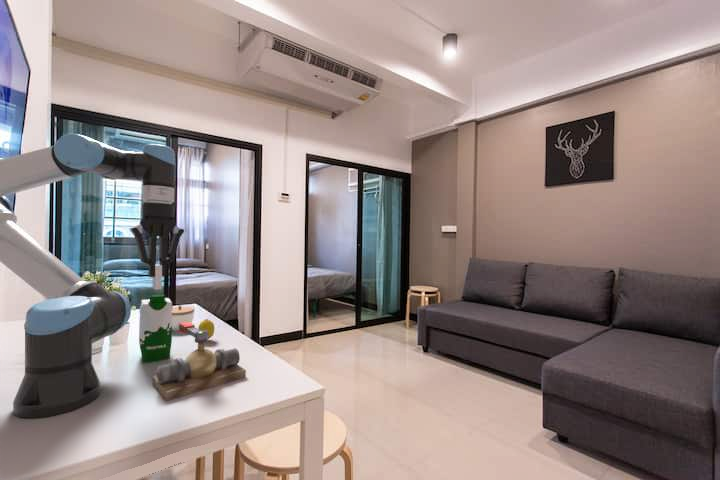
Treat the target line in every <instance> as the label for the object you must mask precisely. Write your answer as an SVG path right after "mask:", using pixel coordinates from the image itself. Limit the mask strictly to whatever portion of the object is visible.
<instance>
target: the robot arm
mask: <svg viewBox="0 0 720 480" xmlns="http://www.w3.org/2000/svg"><path fill="white" fill-rule="evenodd" d="M142 148H143V149H142V151H138V152H135V151H124V150H120V149H117V148H115V147H113V146H110V145H107V144H105V143H103V142H100V141H97V140H96V139H93V138H92V137H89V136H86V135H81V134H77V133H67V134H64V135H61V137H59V138H58V139H57V140H56V141H55V142H54V145H52V146H48V147H45V148H40V149H35V150H32V151H29V152H25V153H21V154H18V155H13V156H9V157H6V158H5V157H4V158H3V159H0V263H1V264H2V265H4V266H5V267H6V268H7V269H8V270H10V271H11V272H12V273H13V274H15V275H16V276H18V277H19V278H20V279H21V280H22V281H24V282H25V283H26V284H28V285H29V286H30V287H31V288H32V289H34V291H36V292H37V293H38V294H40V295H41V296H42V297H43V298H45V299H46V300H42V301H39V302H38V303H35V304H33V305H32V306H30V307H29V308H28V309H27V311H26V314H25V322H24V325H23V326H24V327H23V328H24V345H25V346H24V376H23V378H22V380H21V383H20V385H19V388H18V390H17V392H16V395H15V397H14V400H13V404H12V410H13V411H12V413H13V415H14V414H15V415H14V416H16V417H19V418H23V419H24V418H25V419H37V418H45V417H46V418H47V417H52V416H56V415H61V414H63V413H68V412H71V411H73V410H76V409H79V408H81V407H84V406H86V405H88V404H89V403H92V402H93V401H94V400H96V399H97V398H98V397H99V396H100V394H101V381H100V379H99V376H98V373H97V371H96V369H95V367H94V365H93V362H92V360H93V358H92V357H93V356H92V355H93V344H94V343H96V342H98V341H100V340H102V339H105V338H107V337H109V336H112V335H114V334H116V333H117V332H118V331H120V330H121V329H122V328H124V326H126V324H127V323H128V322H129V320H130V318H131V315H132V314H131V312H132V311H131V309H132V306H131V303H130V301H129V299H128V298H127V297H126V296H125V295H124V294H123V293H121V292H119V291H115V290H114V291H113V290H107V289H105V288H104V287H103V286H102V285H101V284H99V283H98V282H96V281H86V280H84V279H83V278H82V277H81V276H80V275H78V274H77V273H76V272H75V271H73V270H72V269H71V268H70V267H69V266H67V265H66V264H65V263H64V262H63V261H62V260H60V259H59V258H57V256H55V254H53V253H51V252H50V250H48V249H47V248H45V247H44V246H43V245H42V244H41V243H39V242H38V240H36V239H35V238H33V237H32V236H31V235H30V234H28V232H26V231H25V230H24V229H22V227H20V226H19V225H18V224H17V220H18V217H17V215H16V214H15V211H14V210H13V209H14V206H13V205H12V202H11V201H10V200H9V199H8V197H7V196H10V195H13V194H16V193H17V194H18V193H20V192H23V191H28V190H31V189H35V188H39V187H42V186H45V185H49V184H53V183H57V182H59V181H65V180H68V179H71V178H75V177H79V176H82V175H83V176H84V175H85V174H90V173H92V174H94V176H95V177H97V178H100V179H107V180H114V181H115V180H125V181H126V180H127V181H128V180H129V181H142V201H143V203H142V205H141V206H142V207H141V208H142V210H141V211H142V213H141V214H142V215H141V216H142V217H141V220H140V222H139V224H137V225H136V226H133V227H130V229H129V230H130V232H131V234H132V235H133V236H134V239H135V240H134V241H135V244H136V248H137V252H138V256H139V260H140V262H141V263H143V264H147V265H148V276H149V278H152V289H153V290H162V289H163V288H162V287H163V286H162V285H163V284H162V283H163V277H166V275H167V265H168V264H169V263H170V264H171V263H173V262H174V261H175V257H176V253H177V250H178V247H179V243H180V239H181V237H182V235H183V234H184V232H185V229H183V228H180V227H179V226H177V224H176V221H175V205H174V204H173V203H175V182H176V181H175V179H176V176H175V175H176V164H177V163H176V153H175V151H174V149H173V148H172V147H170V146H167V145H163V144H156V143H150V144H149V143H147V144H144V145H143V147H142ZM143 231H144V232H145V233H146V234H147V235H148V252H147V250H146V249H147V248H146V247H145V246H146V245H145V243H144V238H143V235H142V233H143ZM171 232H172V233H173V235H172V237H171V238H172V239H171V242H170V245H169V249H168V240H169V239H168V236H169V235H170V233H171ZM157 240H159V247H158V248H159V251H158V252H159V253H158V255H159V257H158V263H159V264H156V263H157ZM147 253H148V254H147Z"/></svg>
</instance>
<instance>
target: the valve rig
mask: <svg viewBox="0 0 720 480" xmlns="http://www.w3.org/2000/svg"><path fill="white" fill-rule="evenodd" d="M205 343H206V342H203V343H197V349H195V350H193V351H191V352H190V353H189V354H188V355H187V356H186V358H185V359H184V360H183V358H181V357H179V358H175V359H173V361H172V362H171V363H167V364H163V365H158V366H157V368H156V375H152V376H151V377H152V378H151V379H152V380H151V385H153V387H154V388H155V389H156V390H157V391H158V392H159V394H160V395H161V396H162V397H163V398H164V399H165V400H166V401H170V400H174V399H177V398H180V397H184V396H187V395H190V394H193V393H196V392H199V391H200V392H201V391H203V390H207V389H210V388H213V387H217V386H220V385H223V384H227V383H230V382H233V381H237V380H240V379H243V378H246V377H247V376H246V373H247V372H246V371H247V369H245V368H243V367H242V366H240V365H239V363H240V352H239V350H238V349H237V348H231V349H227V350H225V349H224V348H219V349H218V348H217V349H216V350H215V351H214V352H213V350H210V349H209V348H205Z"/></svg>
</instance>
